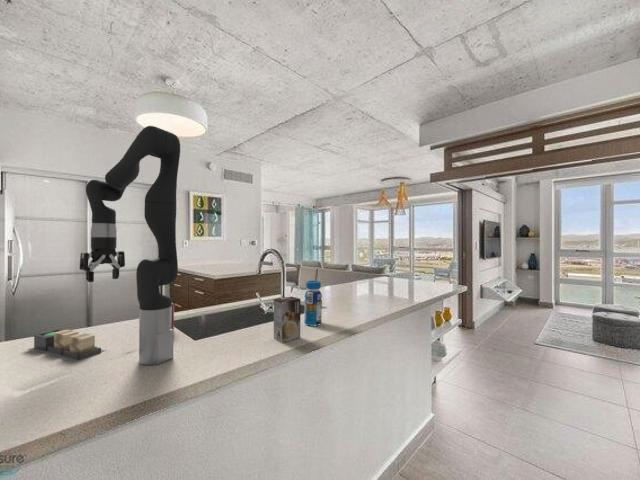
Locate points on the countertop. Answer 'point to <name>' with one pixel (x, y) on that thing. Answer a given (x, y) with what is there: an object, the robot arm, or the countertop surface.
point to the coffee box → (286, 319)
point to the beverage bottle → (313, 303)
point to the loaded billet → (63, 339)
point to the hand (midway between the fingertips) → (103, 280)
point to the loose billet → (82, 343)
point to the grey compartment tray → (47, 347)
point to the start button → (49, 334)
